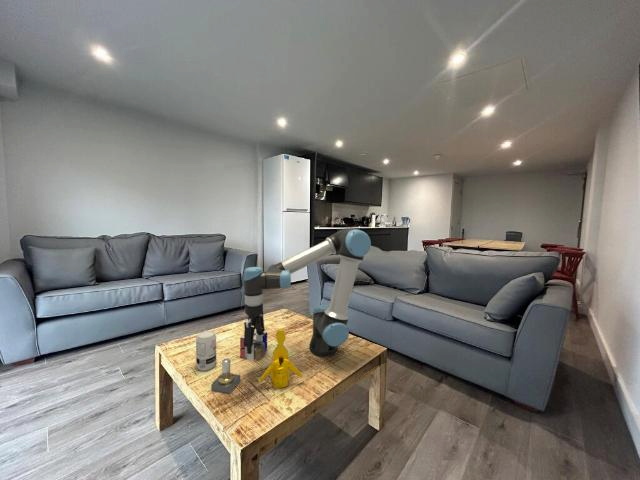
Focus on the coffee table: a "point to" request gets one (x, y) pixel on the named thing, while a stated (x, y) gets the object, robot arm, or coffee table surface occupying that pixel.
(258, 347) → the ring
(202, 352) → the supplement can
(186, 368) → the coffee table surface
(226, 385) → the shaft block
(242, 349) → the puzzle cube
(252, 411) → the coffee table surface
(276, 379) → the figure statuette
